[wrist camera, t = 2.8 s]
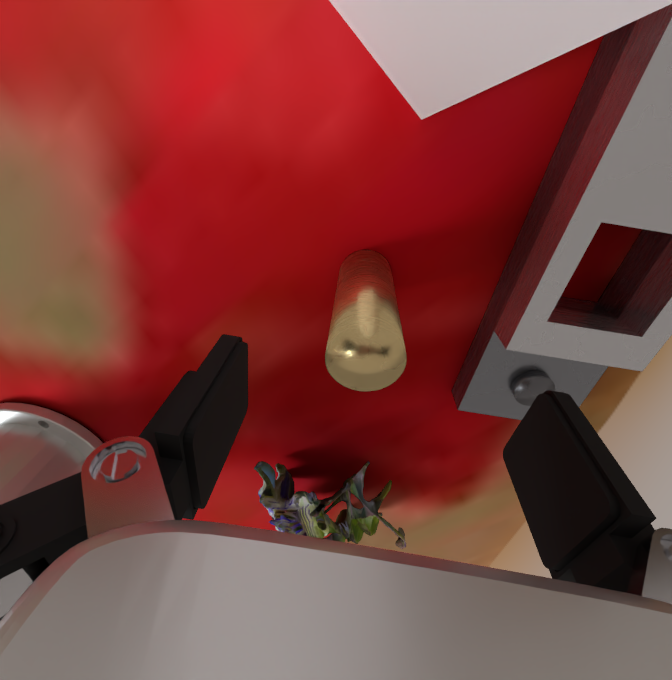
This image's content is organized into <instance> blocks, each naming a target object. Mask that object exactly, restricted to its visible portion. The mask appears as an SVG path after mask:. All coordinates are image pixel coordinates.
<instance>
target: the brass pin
mask: <svg viewBox="0 0 672 680" xmlns="http://www.w3.org/2000/svg"><path fill="white" fill-rule="evenodd" d="M325 363H326V367H327V369H328V371H329V373H330V375H331V376H332V377H333V378H334V379H335V380H336V381H337V382H338V383H340V384H341V385H343V386H345V387H347V388H350V389H353V390H357V391H375V390H379V389H382V388H385V387H387V386H389V385H391V384H392V383H394V382H395V381H396V380H397V379H398V378H399V377H400V376H401V374H402V373H403V371H404V369H405V366H406V350H405V345H404V339H403V333H402V328H401V322H400V317H399V311H398V306H397V300H396V294H395V289H394V283H393V278H392V272H391V267H390V265H389V262H388V261H387V259H386V258H385V257H384V256H383V255H381V254H380V253H378V252H376V251H373V250H359V251H356V252H354V253H352V254H350V255H349V256H348V257H347V258H346V259H345V260H344V261H343V263H342V265H341V268H340V272H339V278H338V284H337V289H336V295H335V301H334V307H333V313H332V318H331V324H330V330H329V336H328V342H327V347H326V353H325Z"/></svg>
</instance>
